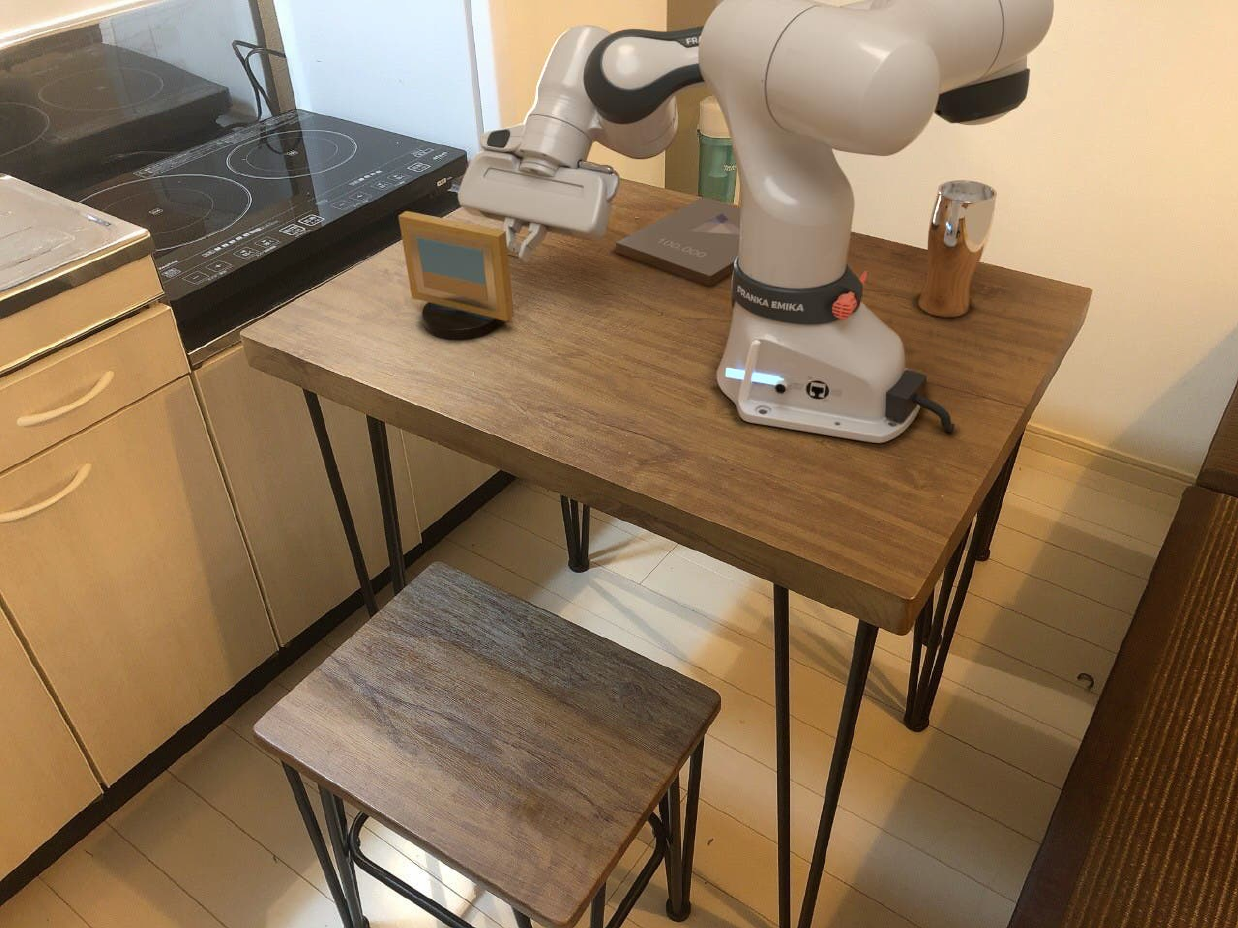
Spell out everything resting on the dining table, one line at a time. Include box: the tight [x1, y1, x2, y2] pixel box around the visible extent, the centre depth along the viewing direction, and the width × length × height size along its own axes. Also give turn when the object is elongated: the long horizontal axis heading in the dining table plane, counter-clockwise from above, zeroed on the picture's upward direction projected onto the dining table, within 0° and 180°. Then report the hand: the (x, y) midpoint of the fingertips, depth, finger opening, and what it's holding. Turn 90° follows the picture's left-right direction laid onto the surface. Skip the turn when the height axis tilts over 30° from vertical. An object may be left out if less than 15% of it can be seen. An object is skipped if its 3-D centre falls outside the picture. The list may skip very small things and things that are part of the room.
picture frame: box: [397, 210, 515, 322], centre depth 116 cm, size 14×2×11 cm, turn 64°
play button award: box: [615, 196, 741, 287], centre depth 136 cm, size 16×2×20 cm
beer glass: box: [917, 179, 998, 318], centre depth 117 cm, size 7×7×15 cm
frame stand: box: [421, 302, 504, 341], centre depth 120 cm, size 10×10×2 cm
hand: (514, 258), depth 120 cm, fingers closed
